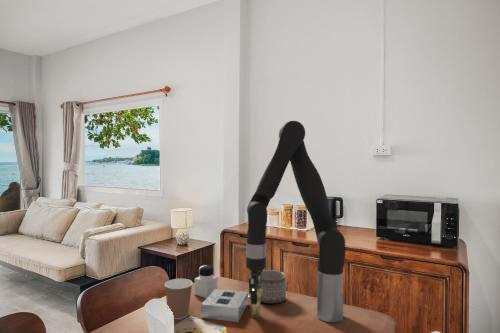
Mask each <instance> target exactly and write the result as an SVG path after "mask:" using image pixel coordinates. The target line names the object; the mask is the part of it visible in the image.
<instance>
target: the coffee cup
mask: <svg viewBox="0 0 500 333" xmlns="http://www.w3.org/2000/svg"><path fill="white" fill-rule="evenodd" d="M193 284H194V282H193V281H192V280H191V279H187V278H174V279H170V280H167V281H165V283H164V287H165V297H166V298H165V299H166V306H167V305H168V306H169V308H170V309H171V311H172V312H173V315H174V319H173V320H182V319H185V318H186V317H188V314H189V312H190V311H189V310H190V302H191V295H192V287H193V286H192V285H193Z"/></svg>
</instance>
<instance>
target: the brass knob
mask: <svg viewBox="0 0 500 333" xmlns="http://www.w3.org/2000/svg"><path fill="white" fill-rule="evenodd" d="M252 290H254V288H252ZM247 292H248V300H250V301H251V294H249V288H248V291H247ZM257 292H258V293H257V304H251V303H250V314H249V315H250V317H251V319H260V317H261V301H260V300H261V299H263V289H262V288H260V287H258V291H257Z"/></svg>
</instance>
